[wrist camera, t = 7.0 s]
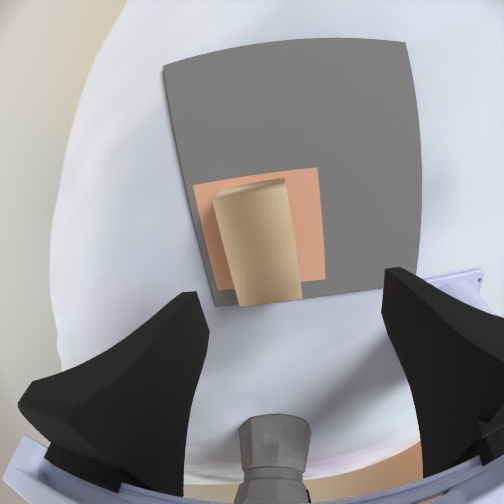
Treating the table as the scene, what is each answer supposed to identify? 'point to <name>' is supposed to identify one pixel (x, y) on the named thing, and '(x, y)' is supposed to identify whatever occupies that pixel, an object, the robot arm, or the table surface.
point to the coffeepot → (273, 460)
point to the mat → (306, 152)
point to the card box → (259, 241)
